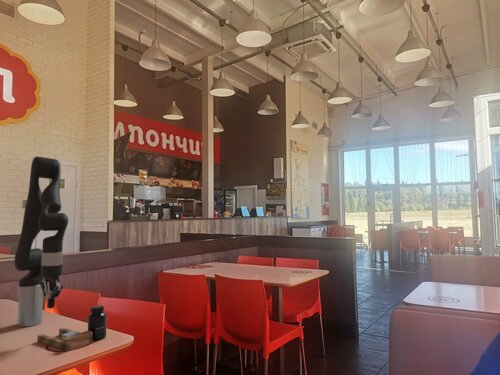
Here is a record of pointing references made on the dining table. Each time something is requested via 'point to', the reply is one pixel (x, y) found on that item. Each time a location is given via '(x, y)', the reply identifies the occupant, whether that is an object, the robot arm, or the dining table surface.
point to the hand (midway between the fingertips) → (50, 307)
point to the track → (67, 340)
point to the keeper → (69, 334)
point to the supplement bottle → (97, 322)
